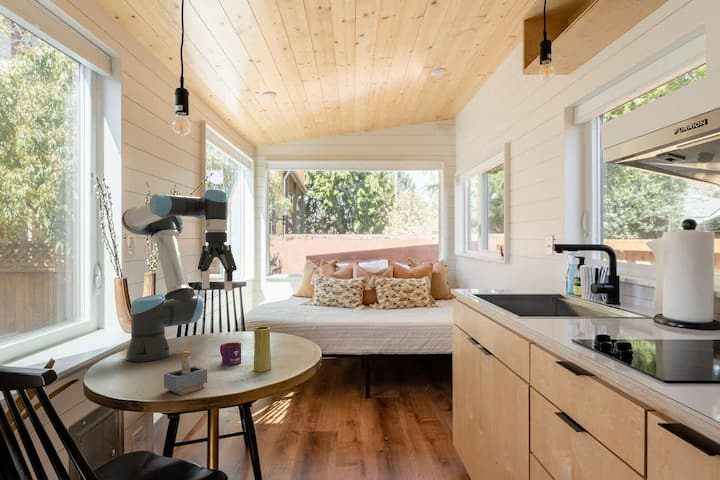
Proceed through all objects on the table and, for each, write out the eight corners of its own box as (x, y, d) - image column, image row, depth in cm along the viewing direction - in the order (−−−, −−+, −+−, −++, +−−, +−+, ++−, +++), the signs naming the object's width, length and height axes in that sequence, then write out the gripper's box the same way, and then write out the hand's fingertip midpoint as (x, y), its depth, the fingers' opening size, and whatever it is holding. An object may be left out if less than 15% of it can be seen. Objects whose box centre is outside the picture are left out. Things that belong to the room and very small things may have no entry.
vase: (250, 369, 142) (249, 328, 142) (265, 365, 147) (265, 325, 147) (259, 373, 138) (258, 330, 138) (275, 369, 142) (274, 327, 142)
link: (164, 387, 122) (163, 374, 122) (194, 378, 130) (194, 365, 130) (176, 392, 118) (175, 378, 118) (207, 382, 126) (207, 369, 126)
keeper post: (168, 390, 123) (168, 353, 123) (190, 383, 129) (189, 348, 129) (181, 394, 119) (181, 356, 119) (203, 387, 124) (203, 351, 125)
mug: (227, 367, 146) (227, 347, 146) (214, 361, 153) (214, 343, 153) (244, 363, 150) (244, 344, 150) (231, 357, 157) (230, 340, 157)
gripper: (187, 232, 156) (188, 288, 155) (228, 230, 141) (229, 292, 141) (205, 232, 162) (205, 287, 162) (246, 230, 147) (247, 290, 147)
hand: (216, 289), depth 151 cm, fingers open, 13 cm apart
